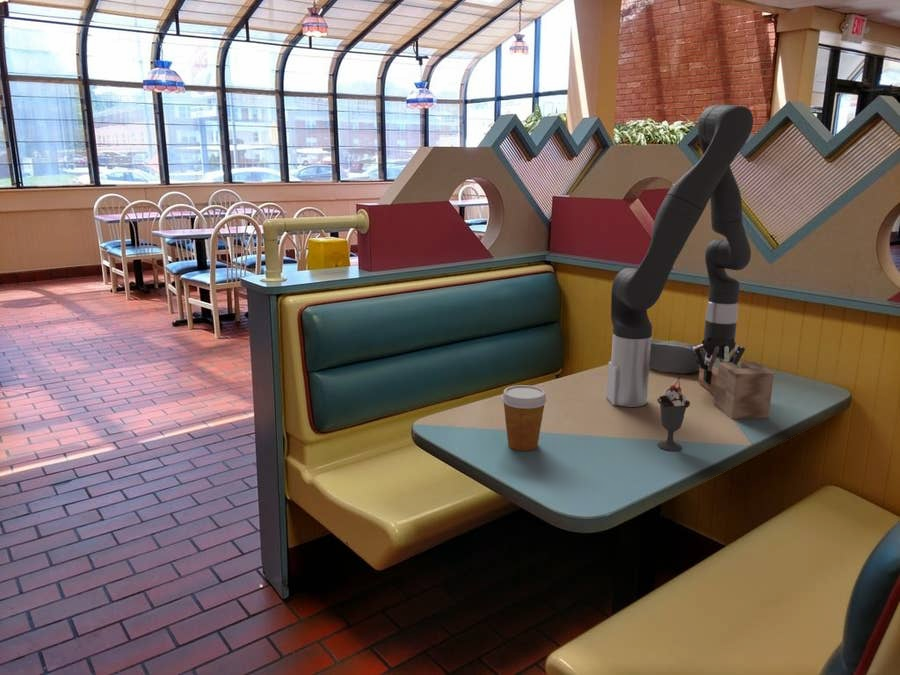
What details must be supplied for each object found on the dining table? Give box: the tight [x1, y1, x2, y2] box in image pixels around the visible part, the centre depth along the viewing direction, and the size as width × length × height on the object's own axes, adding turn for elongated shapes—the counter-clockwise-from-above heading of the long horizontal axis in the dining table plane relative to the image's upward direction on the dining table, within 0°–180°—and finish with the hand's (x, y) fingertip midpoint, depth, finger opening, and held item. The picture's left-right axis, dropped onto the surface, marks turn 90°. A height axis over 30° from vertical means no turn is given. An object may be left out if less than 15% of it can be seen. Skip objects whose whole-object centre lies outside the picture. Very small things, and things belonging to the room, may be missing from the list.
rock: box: [649, 338, 706, 375], centre depth 204 cm, size 18×11×8 cm, turn 59°
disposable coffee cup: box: [501, 384, 548, 452], centre depth 150 cm, size 10×10×12 cm
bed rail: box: [697, 365, 718, 397], centre depth 181 cm, size 3×20×5 cm, turn 5°
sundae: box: [656, 376, 691, 452], centre depth 149 cm, size 7×7×15 cm
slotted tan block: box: [714, 361, 775, 420], centre depth 169 cm, size 9×9×11 cm
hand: (714, 383), depth 185 cm, fingers closed on bed rail, 3 cm apart
